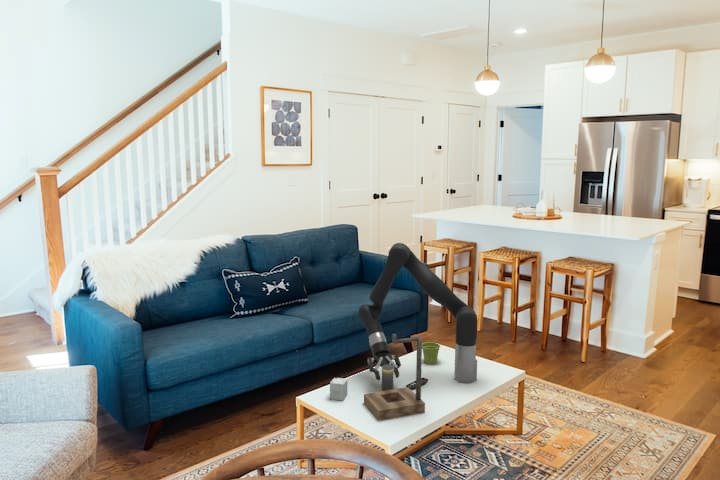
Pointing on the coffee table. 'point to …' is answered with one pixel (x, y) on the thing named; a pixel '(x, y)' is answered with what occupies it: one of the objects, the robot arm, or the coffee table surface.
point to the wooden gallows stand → (398, 393)
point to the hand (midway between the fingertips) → (388, 378)
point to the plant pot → (430, 352)
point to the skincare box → (338, 389)
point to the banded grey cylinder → (387, 377)
